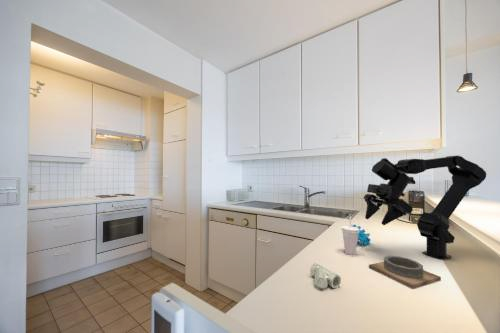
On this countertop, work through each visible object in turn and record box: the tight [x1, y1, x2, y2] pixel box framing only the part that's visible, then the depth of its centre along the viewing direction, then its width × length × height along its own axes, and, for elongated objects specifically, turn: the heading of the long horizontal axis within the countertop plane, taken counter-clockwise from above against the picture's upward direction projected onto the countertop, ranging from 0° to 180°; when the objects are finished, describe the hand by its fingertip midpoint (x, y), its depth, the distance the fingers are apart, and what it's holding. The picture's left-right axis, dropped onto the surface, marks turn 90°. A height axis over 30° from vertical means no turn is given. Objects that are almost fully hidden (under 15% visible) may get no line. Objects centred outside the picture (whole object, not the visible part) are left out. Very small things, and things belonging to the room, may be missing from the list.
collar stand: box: [368, 255, 442, 290], centre depth 64 cm, size 13×13×4 cm
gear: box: [351, 224, 372, 247], centre depth 93 cm, size 11×6×10 cm
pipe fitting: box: [309, 262, 342, 290], centre depth 58 cm, size 8×4×7 cm
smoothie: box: [341, 216, 359, 256], centre depth 80 cm, size 6×6×14 cm
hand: (374, 221), depth 77 cm, fingers open, 9 cm apart
